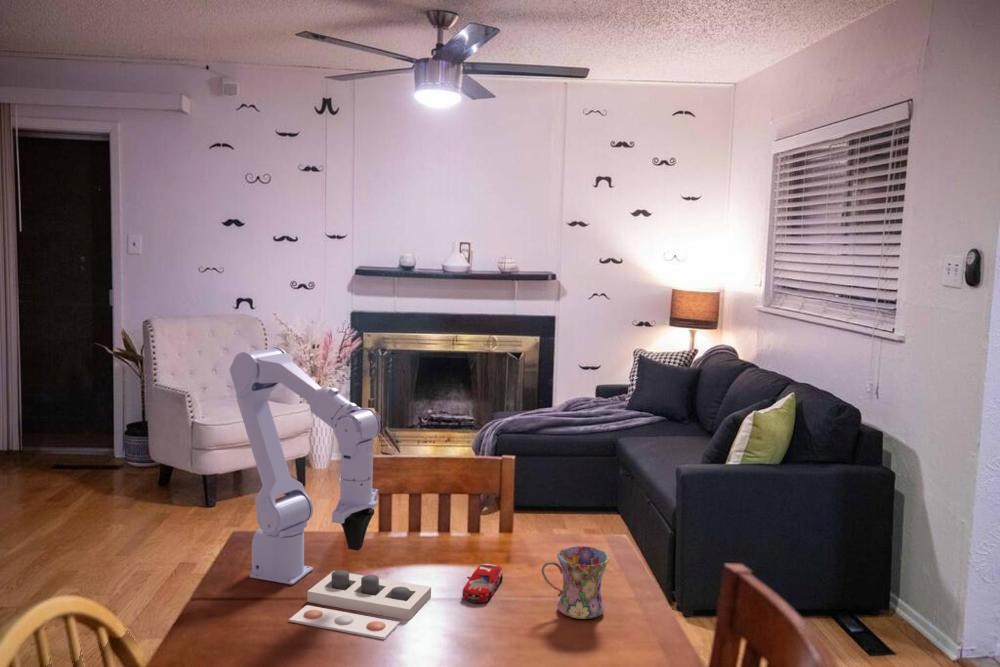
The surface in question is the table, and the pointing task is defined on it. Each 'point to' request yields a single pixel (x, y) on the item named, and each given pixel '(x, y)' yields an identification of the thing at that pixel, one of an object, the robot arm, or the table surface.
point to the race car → (483, 583)
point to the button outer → (400, 593)
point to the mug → (580, 581)
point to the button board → (370, 597)
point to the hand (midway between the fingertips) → (355, 548)
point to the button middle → (370, 584)
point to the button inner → (340, 579)
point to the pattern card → (345, 622)
